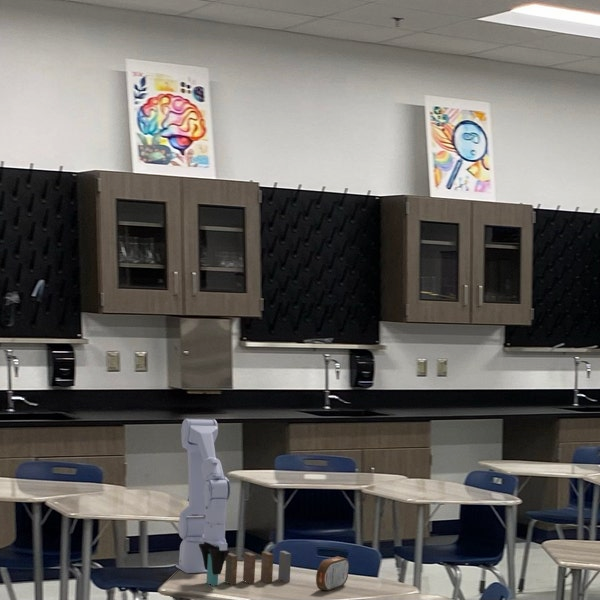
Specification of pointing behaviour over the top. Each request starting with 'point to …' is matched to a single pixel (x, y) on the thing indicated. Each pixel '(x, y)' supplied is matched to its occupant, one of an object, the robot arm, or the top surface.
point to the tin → (332, 573)
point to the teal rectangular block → (211, 573)
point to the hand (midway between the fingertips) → (212, 571)
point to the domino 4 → (284, 566)
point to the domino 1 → (231, 568)
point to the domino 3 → (267, 567)
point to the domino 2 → (249, 567)
